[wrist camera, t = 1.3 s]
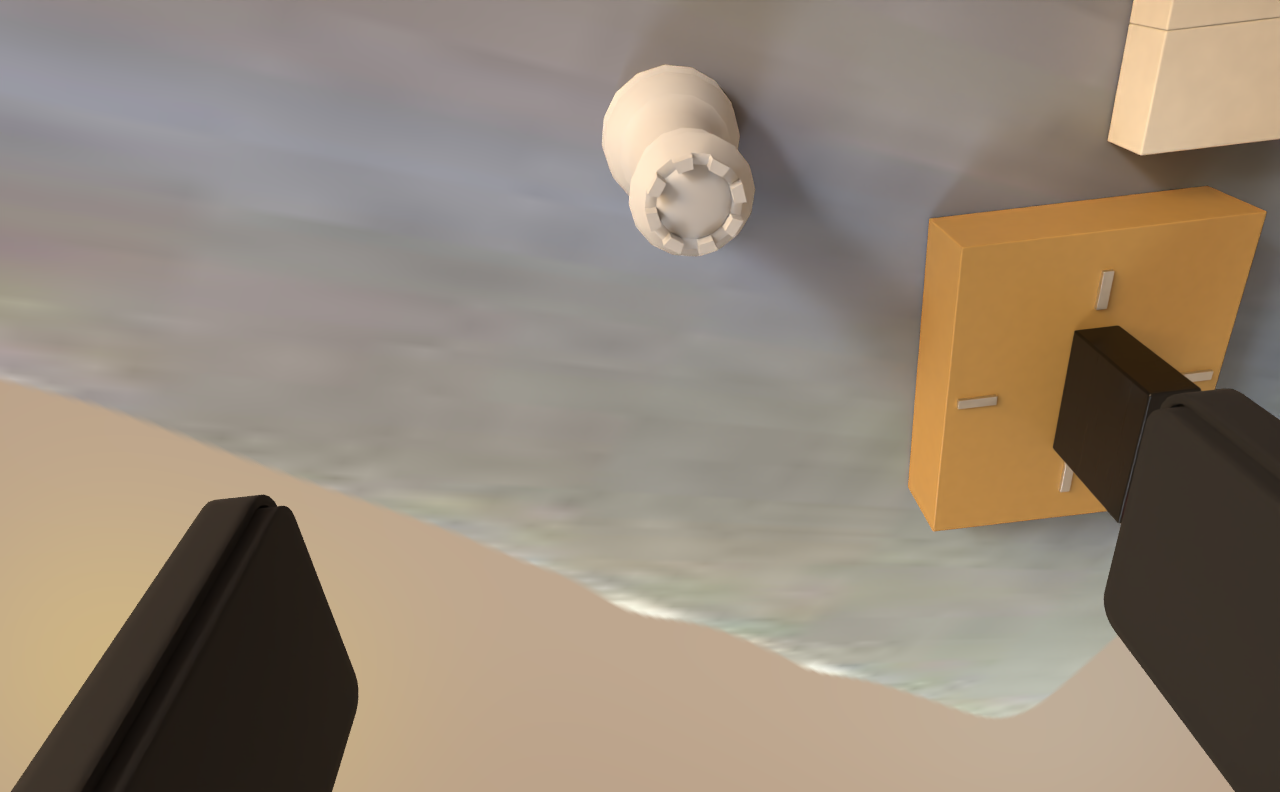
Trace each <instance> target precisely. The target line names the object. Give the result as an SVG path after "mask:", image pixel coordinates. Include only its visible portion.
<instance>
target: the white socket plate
mask: <svg viewBox="0 0 1280 792" xmlns="http://www.w3.org/2000/svg"><path fill="white" fill-rule="evenodd" d="M1130 23H1131V24H1129V27H1128V33H1127V38H1126V44H1125V49H1124V54H1123V60H1122V65H1121V71H1120V76H1119V82H1118V87H1117V92H1116V98H1115V103H1114V109H1113V114H1112V119H1111V125H1110V130H1109V136H1108V141H1109V142H1111V143H1113V144H1116V145H1118V146H1120V147H1122V148H1125V149H1127V150H1129V151H1132V152H1134V153H1136V154H1139V155H1150V154H1158V153H1166V152H1175V151H1183V150H1192V149H1200V148H1209V147H1217V146H1226V145H1234V144H1243V143H1251V142H1259V141H1268V140H1276V139H1280V0H1133V6H1132V11H1131V17H1130Z"/></svg>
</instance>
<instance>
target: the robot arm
mask: <svg viewBox="0 0 1280 792" xmlns="http://www.w3.org/2000/svg"><path fill="white" fill-rule="evenodd" d="M1104 607H1105V611H1106V615H1107V617H1108V620H1109V622H1110V624H1111V626H1112V627H1113V629H1114V631H1115V632H1116V633H1117V635H1118V636H1119V637H1120V638H1121V640H1122V641H1123V643H1124V644H1125V645H1126V647H1127V648H1128V649H1129V651H1130V652H1131V653H1132V655H1133V656H1134V657H1135V658H1136V660H1137V661H1138V662H1139V664H1140V665H1141V667H1142V668H1143V669H1144V671H1145V672H1146V673H1147V675H1148V676H1149V677H1150V679H1151V680H1152V681H1153V683H1154V684H1155V685H1156V687H1157V688H1158V689H1159V691H1160V692H1161V693H1162V695H1163V696H1164V697H1165V699H1166V700H1167V701H1168V703H1169V704H1170V705H1171V707H1172V708H1173V709H1174V711H1175V712H1176V713H1177V715H1178V716H1179V717H1180V719H1181V720H1182V721H1183V723H1184V724H1185V725H1186V727H1187V728H1188V729H1189V731H1190V732H1191V733H1192V735H1193V736H1194V737H1195V739H1196V740H1197V741H1198V743H1199V744H1200V745H1201V747H1202V748H1203V749H1204V751H1205V752H1206V754H1207V755H1208V756H1209V758H1210V759H1211V760H1212V761H1213V763H1214V764H1215V765H1216V767H1217V768H1218V770H1219V771H1220V772H1221V773H1222V775H1223V776H1224V778H1225V779H1226V780H1227V782H1228V783H1229V784H1230V785H1231V787H1232V788H1233V790H1234V791H1235V792H1280V420H1279V419H1277V418H1276V417H1275V416H1273V415H1272V414H1270V413H1269V412H1268V411H1266V410H1265V409H1263V408H1262V407H1260V406H1259V405H1258V404H1256V403H1255V402H1253V401H1252V400H1251V399H1249V398H1248V397H1246V396H1245V395H1244V394H1242V393H1240V392H1238V391H1236V390H1234V389H1216V390H1206V391H1197V392H1188V393H1179V394H1174V395H1171V396H1169V397H1167V398H1166V400H1165V401H1164V402H1163V403H1162V405H1161V407H1160V409H1157V410H1155V411H1153V412H1152V413H1151V414H1150V415H1149V416H1148V419H1147V421H1146V424H1145V428H1144V432H1143V436H1142V440H1141V444H1140V449H1139V453H1138V457H1137V461H1136V465H1135V469H1134V473H1133V477H1132V482H1131V486H1130V490H1129V494H1128V498H1127V502H1126V506H1125V510H1124V514H1123V519H1122V523H1121V527H1120V531H1119V535H1118V539H1117V543H1116V547H1115V552H1114V556H1113V560H1112V564H1111V568H1110V572H1109V576H1108V580H1107V585H1106V589H1105V593H1104ZM357 704H358V683H357V679H356V675H355V672H354V670H353V667H352V665H351V662H350V659H349V657H348V654H347V651H346V649H345V646H344V644H343V641H342V639H341V636H340V633H339V631H338V628H337V625H336V623H335V620H334V618H333V615H332V612H331V610H330V607H329V605H328V602H327V600H326V597H325V594H324V592H323V589H322V586H321V584H320V581H319V579H318V576H317V574H316V571H315V568H314V566H313V563H312V561H311V558H310V555H309V553H308V550H307V548H306V545H305V543H304V540H303V537H302V535H301V532H300V529H299V527H298V524H297V522H296V519H295V517H294V515H293V513H292V511H291V510H290V509H289V508H288V507H286V506H278V507H277V505H276V503H275V502H274V501H273V500H272V499H271V498H270V497H269V496H266V495H256V496H247V497H238V498H229V499H220V500H213V501H210V502H208V503H207V504H206V505H205V506H204V507H203V508H202V510H201V511H200V513H199V514H198V516H197V517H196V519H195V520H194V522H193V523H192V525H191V526H190V527H189V529H188V530H187V532H186V533H185V535H184V536H183V538H182V540H181V541H180V542H179V544H178V545H177V547H176V548H175V550H174V551H173V553H172V554H171V556H170V557H169V559H168V560H167V562H166V563H165V564H164V566H163V567H162V569H161V570H160V572H159V573H158V575H157V576H156V578H155V579H154V581H153V582H152V584H151V585H150V587H149V588H148V590H147V591H146V593H145V594H144V596H143V597H142V599H141V600H140V602H139V603H138V604H137V606H136V608H135V609H134V610H133V612H132V613H131V615H130V616H129V618H128V619H127V621H126V622H125V624H124V625H123V627H122V628H121V630H120V631H119V633H118V634H117V636H116V637H115V638H114V640H113V641H112V643H111V644H110V646H109V648H108V649H107V651H106V652H105V653H104V655H103V656H102V658H101V659H100V661H99V662H98V664H97V665H96V667H95V668H94V670H93V671H92V673H91V674H90V676H89V677H88V678H87V680H86V681H85V683H84V684H83V686H82V687H81V689H80V690H79V692H78V694H77V695H76V696H75V698H74V699H73V701H72V702H71V704H70V705H69V707H68V708H67V710H66V711H65V712H64V714H63V715H62V717H61V718H60V720H59V721H58V723H57V724H56V726H55V727H54V729H53V730H52V732H51V733H50V735H49V736H48V738H47V739H46V741H45V742H44V744H43V745H42V747H41V748H40V750H39V751H38V752H37V754H36V755H35V757H34V758H33V760H32V761H31V763H30V764H29V766H28V767H27V769H26V770H25V772H24V773H23V775H22V776H21V778H20V779H19V781H18V782H17V784H16V785H15V786H14V788H13V789H12V791H11V792H332V790H333V787H334V783H335V780H336V776H337V773H338V770H339V767H340V763H341V760H342V757H343V753H344V750H345V747H346V743H347V740H348V737H349V733H350V730H351V727H352V724H353V720H354V717H355V714H356V709H357Z"/></svg>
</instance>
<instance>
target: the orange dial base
mask: <svg viewBox="0 0 1280 792" xmlns="http://www.w3.org/2000/svg"><path fill="white" fill-rule="evenodd" d="M1266 213H1267V212H1266V211H1264V210H1262V209H1260V208H1257V207H1255V206H1253V205H1250V204H1248V203H1246V202H1243V201H1241V200H1239V199H1237V198H1234V197H1232V196H1230V195H1227V194H1225V193H1223V192H1221V191H1218V190H1216V189H1214V188H1211V187H1209V186H1201V187H1193V188H1184V189H1176V190H1168V191H1159V192H1151V193H1142V194H1134V195H1125V196H1117V197H1108V198H1100V199H1091V200H1083V201H1075V202H1066V203H1058V204H1049V205H1041V206H1032V207H1024V208H1015V209H1007V210H998V211H990V212H981V213H973V214H965V215H956V216H948V217H939V218H931V219H929V229H928V242H927V254H926V267H925V280H924V292H923V305H922V317H921V330H920V343H919V355H918V368H917V380H916V393H915V406H914V418H913V431H912V444H911V456H910V469H909V481H908V488H909V489H910V491H911V493H912V495H913V497H914V498H915V500H916V502H917V504H918V505H919V507H920V509H921V511H922V513H923V514H924V516H925V518H926V520H927V521H928V523H929V525H930V527H931V529H932V530H933V531H941V530H950V529H958V528H967V527H976V526H984V525H993V524H1001V523H1010V522H1018V521H1027V520H1035V519H1044V518H1052V517H1061V516H1070V515H1078V514H1087V513H1095V512H1104V511H1107V510H1106V509H1105V508H1104V507H1103V505H1102V504H1101V503H1100V502H1099V501H1098V500H1097V499H1096V497H1095V496H1094V495H1093V494H1092V493H1091V492H1090V491H1089V489H1088V488H1087V487H1086V486H1085V485H1084V484H1083V482H1082V481H1081V480H1080V479H1079V478H1078V477H1077V476H1076V474H1075V473H1074V472H1073V471H1072V470H1071V469H1070V468H1069V466H1068V465H1067V464H1066V463H1065V462H1064V461H1063V460H1062V458H1061V457H1060V456H1059V455H1058V454H1057V453H1056V452H1055V450H1054V449H1053V443H1054V437H1055V432H1056V427H1057V421H1058V416H1059V411H1060V405H1061V400H1062V394H1063V389H1064V384H1065V378H1066V373H1067V367H1068V362H1069V357H1070V351H1071V346H1072V340H1073V335H1074V331H1076V330H1082V329H1091V328H1099V327H1108V326H1116V325H1118V326H1121V327H1122V328H1123V329H1124V330H1126V331H1127V332H1128V333H1130V334H1131V335H1132V336H1134V337H1135V338H1136V339H1137V340H1139V341H1140V342H1141V343H1143V344H1144V345H1145V346H1146V347H1148V348H1149V349H1150V350H1152V351H1153V352H1154V353H1156V354H1157V355H1158V356H1159V357H1161V358H1162V359H1163V360H1165V361H1166V362H1167V363H1169V364H1170V365H1171V366H1172V367H1174V368H1175V369H1176V370H1178V371H1179V372H1180V373H1181V374H1183V375H1184V376H1185V377H1187V378H1188V379H1189V380H1191V381H1192V382H1193V383H1194V384H1196V385H1197V386H1198V387H1200V388H1201V391H1206V390H1215V387H1216V383H1217V380H1218V377H1219V373H1220V370H1221V366H1222V363H1223V360H1224V356H1225V353H1226V349H1227V346H1228V343H1229V339H1230V336H1231V332H1232V329H1233V326H1234V322H1235V319H1236V315H1237V312H1238V309H1239V305H1240V302H1241V298H1242V295H1243V292H1244V288H1245V285H1246V281H1247V278H1248V275H1249V271H1250V268H1251V264H1252V261H1253V258H1254V254H1255V251H1256V247H1257V244H1258V241H1259V237H1260V234H1261V230H1262V227H1263V224H1264V220H1265V217H1266Z"/></svg>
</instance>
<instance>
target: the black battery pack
mask: <svg viewBox="0 0 1280 792" xmlns="http://www.w3.org/2000/svg"><path fill="white" fill-rule="evenodd" d="M1197 391H1201V388H1200V387H1198V386H1197V385H1196V384H1194V383H1193V382H1192V381H1191V380H1189V379H1188V378H1187V377H1185V376H1184V375H1183V374H1181V373H1180V372H1179V371H1178V370H1176V369H1175V368H1174V367H1172V366H1171V365H1170V364H1169V363H1167V362H1166V361H1165V360H1163V359H1162V358H1161V357H1159V356H1158V355H1157V354H1156V353H1154V352H1153V351H1152V350H1150V349H1149V348H1148V347H1146V346H1145V345H1144V344H1143V343H1141V342H1140V341H1139V340H1137V339H1136V338H1135V337H1134V336H1132V335H1131V334H1130V333H1128V332H1127V331H1126V330H1124V329H1123V328H1122V327H1121V326H1118V325H1116V326H1108V327H1099V328H1091V329H1082V330H1076V331H1074V335H1073V340H1072V346H1071V351H1070V357H1069V362H1068V367H1067V373H1066V378H1065V384H1064V389H1063V394H1062V400H1061V405H1060V411H1059V416H1058V421H1057V427H1056V432H1055V437H1054V443H1053V449H1054V450H1055V452H1056V453H1057V454H1058V455H1059V456H1060V457H1061V458H1062V460H1063V461H1064V462H1065V463H1066V464H1067V465H1068V466H1069V468H1070V469H1071V470H1072V471H1073V472H1074V473H1075V474H1076V476H1077V477H1078V478H1079V479H1080V480H1081V481H1082V482H1083V484H1084V485H1085V486H1086V487H1087V488H1088V489H1089V491H1090V492H1091V493H1092V494H1093V495H1094V496H1095V497H1096V499H1097V500H1098V501H1099V502H1100V503H1101V504H1102V505H1103V507H1104V508H1105V509H1106V510H1107V511H1108V512H1109V513H1110V515H1111V516H1112V517H1113V518H1114V519H1115V520H1116V521H1117V522H1118V523H1122V519H1123V514H1124V510H1125V506H1126V502H1127V498H1128V494H1129V490H1130V486H1131V482H1132V477H1133V473H1134V469H1135V465H1136V461H1137V457H1138V453H1139V449H1140V444H1141V440H1142V436H1143V432H1144V428H1145V424H1146V421H1147V419H1148V416H1149V415H1150V414H1151V413H1152V412H1153V411H1155V410H1157V409H1160V407H1161V405H1162V403H1163V402H1164V401H1165V400H1166V398H1167V397H1169V396H1171V395H1174V394H1179V393H1188V392H1197Z"/></svg>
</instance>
